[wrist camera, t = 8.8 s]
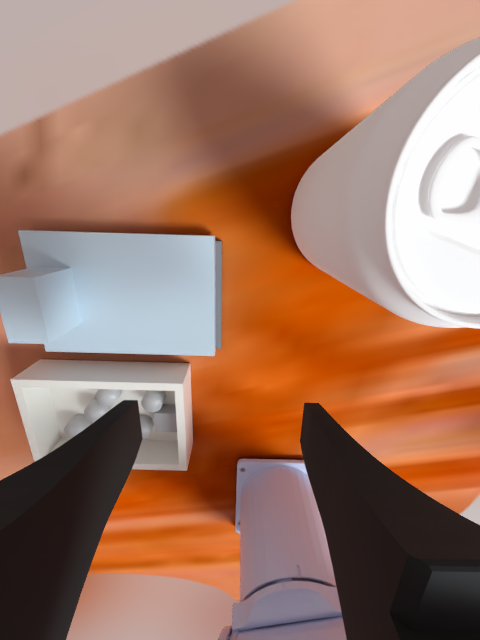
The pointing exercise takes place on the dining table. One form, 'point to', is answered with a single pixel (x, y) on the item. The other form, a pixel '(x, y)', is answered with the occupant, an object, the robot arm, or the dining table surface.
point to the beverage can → (405, 199)
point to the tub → (108, 405)
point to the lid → (112, 293)
